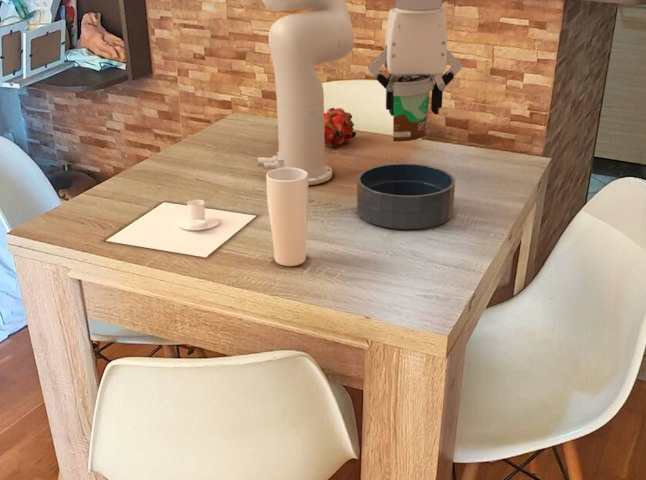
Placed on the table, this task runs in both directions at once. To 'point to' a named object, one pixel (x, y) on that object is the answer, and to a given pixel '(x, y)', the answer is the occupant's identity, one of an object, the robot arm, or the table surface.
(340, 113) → the dragon fruit
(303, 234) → the drinking glass
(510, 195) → the table surface
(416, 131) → the food container
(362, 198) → the bowl
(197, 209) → the teacup and saucer
